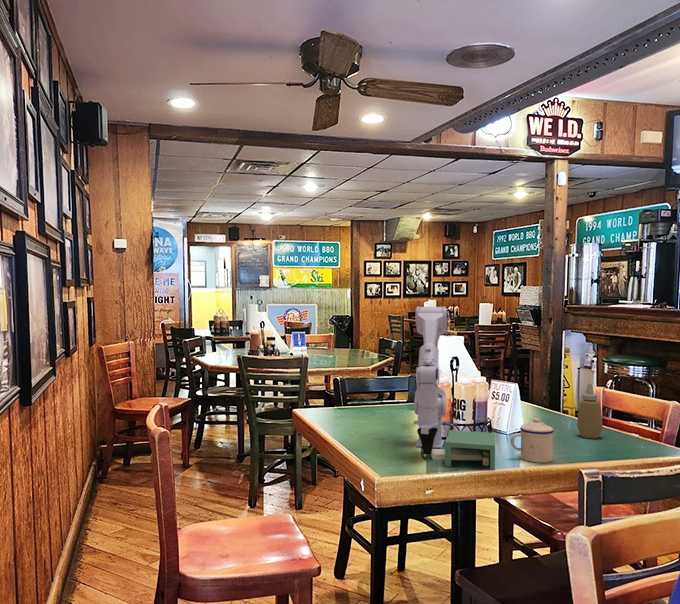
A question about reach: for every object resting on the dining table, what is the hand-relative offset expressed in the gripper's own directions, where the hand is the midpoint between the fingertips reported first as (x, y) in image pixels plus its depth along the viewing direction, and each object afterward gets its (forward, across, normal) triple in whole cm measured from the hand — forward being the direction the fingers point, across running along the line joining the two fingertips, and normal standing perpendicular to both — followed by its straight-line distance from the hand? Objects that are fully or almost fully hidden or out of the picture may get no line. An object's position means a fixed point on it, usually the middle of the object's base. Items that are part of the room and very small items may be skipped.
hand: (427, 453), depth 160 cm
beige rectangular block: (+2, -3, +8) cm, 8 cm away
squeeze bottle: (+1, -42, +50) cm, 65 cm away
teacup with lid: (+1, -7, +29) cm, 30 cm away
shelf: (+1, 0, +12) cm, 12 cm away
